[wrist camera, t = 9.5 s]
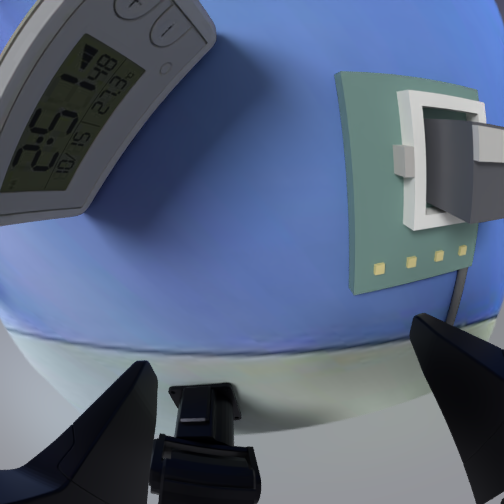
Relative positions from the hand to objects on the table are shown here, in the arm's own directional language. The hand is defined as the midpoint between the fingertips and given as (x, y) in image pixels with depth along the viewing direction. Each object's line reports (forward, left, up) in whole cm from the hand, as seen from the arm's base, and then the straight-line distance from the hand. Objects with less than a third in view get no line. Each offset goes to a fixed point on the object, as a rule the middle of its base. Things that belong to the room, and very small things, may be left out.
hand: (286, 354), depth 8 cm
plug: (+4, -14, -11) cm, 18 cm away
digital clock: (+10, +8, -12) cm, 18 cm away
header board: (+2, -13, -12) cm, 18 cm away
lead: (-9, -19, -12) cm, 24 cm away
